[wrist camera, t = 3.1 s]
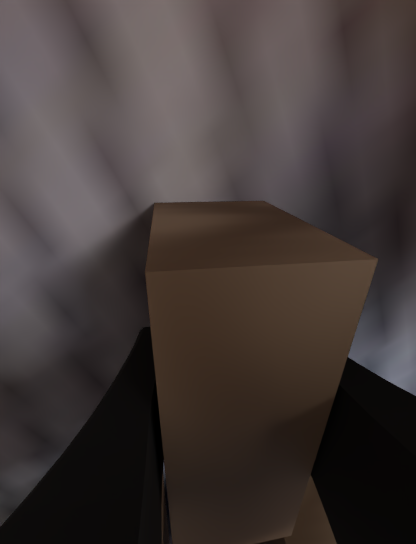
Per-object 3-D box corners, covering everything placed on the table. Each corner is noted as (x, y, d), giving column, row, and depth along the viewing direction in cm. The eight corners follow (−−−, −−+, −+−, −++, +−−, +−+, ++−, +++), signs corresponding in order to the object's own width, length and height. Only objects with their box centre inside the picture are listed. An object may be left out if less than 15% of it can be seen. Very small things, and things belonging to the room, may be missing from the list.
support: (264, 200, 8) (377, 258, 4) (244, 395, 12) (291, 535, 8) (154, 202, 8) (145, 272, 3) (169, 405, 12) (174, 561, 7)
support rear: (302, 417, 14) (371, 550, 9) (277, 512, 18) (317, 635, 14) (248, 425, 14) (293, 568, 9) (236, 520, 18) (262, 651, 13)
